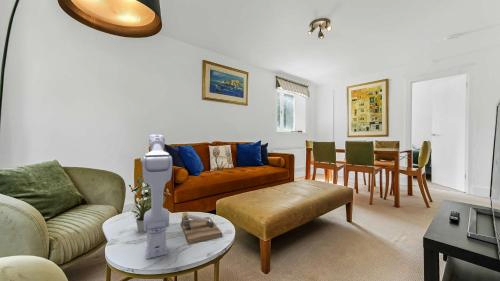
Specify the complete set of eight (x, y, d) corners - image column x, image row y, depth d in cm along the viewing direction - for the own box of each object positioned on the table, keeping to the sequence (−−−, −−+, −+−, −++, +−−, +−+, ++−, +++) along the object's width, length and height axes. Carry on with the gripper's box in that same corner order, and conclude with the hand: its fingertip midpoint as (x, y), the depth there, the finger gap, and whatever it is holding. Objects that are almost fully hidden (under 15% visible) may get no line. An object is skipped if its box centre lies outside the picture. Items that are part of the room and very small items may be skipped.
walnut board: (221, 236, 98) (221, 226, 98) (188, 244, 91) (188, 233, 90) (209, 220, 117) (209, 212, 117) (180, 225, 110) (180, 216, 110)
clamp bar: (211, 224, 105) (212, 221, 105) (188, 219, 99) (189, 215, 100) (209, 221, 108) (210, 218, 108) (186, 216, 103) (188, 213, 103)
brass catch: (188, 218, 107) (188, 215, 107) (183, 219, 105) (183, 215, 105) (186, 215, 111) (186, 211, 111) (182, 216, 110) (182, 212, 110)
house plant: (149, 238, 95) (149, 204, 95) (121, 237, 96) (121, 203, 95) (163, 225, 110) (163, 195, 109) (138, 224, 110) (138, 195, 110)
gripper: (171, 146, 107) (169, 161, 116) (140, 147, 100) (141, 163, 109) (172, 156, 102) (171, 171, 112) (140, 158, 96) (141, 174, 105)
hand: (156, 168), depth 110 cm, fingers open, 7 cm apart
